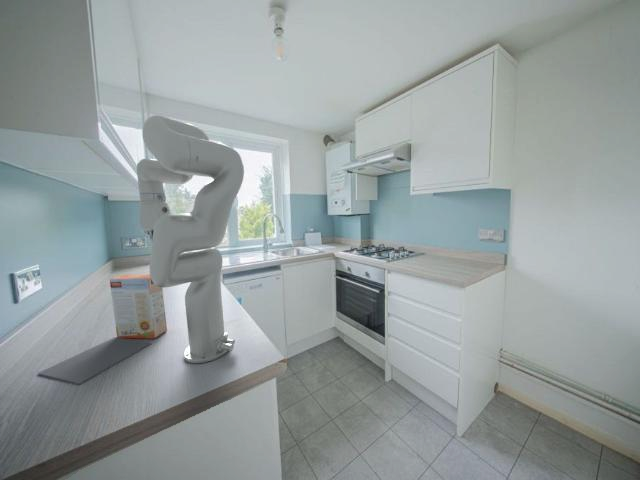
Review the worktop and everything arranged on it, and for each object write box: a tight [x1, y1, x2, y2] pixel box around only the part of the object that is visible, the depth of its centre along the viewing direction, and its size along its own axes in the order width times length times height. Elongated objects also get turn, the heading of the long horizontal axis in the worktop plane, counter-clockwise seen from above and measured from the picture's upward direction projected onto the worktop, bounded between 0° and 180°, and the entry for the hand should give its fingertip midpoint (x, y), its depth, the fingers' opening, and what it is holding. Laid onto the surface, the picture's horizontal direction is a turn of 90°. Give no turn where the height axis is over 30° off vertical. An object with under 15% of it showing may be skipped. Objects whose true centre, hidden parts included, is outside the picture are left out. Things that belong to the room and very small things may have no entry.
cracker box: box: [109, 274, 168, 340], centre depth 77 cm, size 14×6×21 cm, turn 84°
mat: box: [37, 336, 153, 385], centre depth 66 cm, size 16×18×1 cm
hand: (158, 248), depth 84 cm, fingers closed
